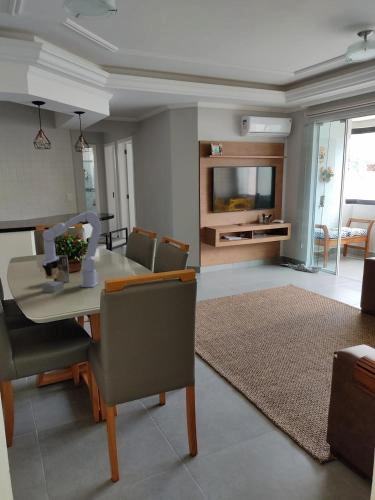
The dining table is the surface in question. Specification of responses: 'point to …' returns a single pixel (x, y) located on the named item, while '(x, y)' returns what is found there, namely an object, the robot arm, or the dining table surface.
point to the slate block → (52, 286)
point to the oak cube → (53, 274)
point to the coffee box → (63, 269)
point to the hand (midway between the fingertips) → (51, 274)
